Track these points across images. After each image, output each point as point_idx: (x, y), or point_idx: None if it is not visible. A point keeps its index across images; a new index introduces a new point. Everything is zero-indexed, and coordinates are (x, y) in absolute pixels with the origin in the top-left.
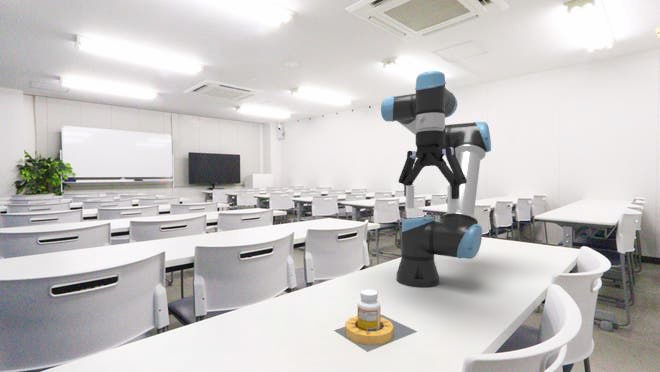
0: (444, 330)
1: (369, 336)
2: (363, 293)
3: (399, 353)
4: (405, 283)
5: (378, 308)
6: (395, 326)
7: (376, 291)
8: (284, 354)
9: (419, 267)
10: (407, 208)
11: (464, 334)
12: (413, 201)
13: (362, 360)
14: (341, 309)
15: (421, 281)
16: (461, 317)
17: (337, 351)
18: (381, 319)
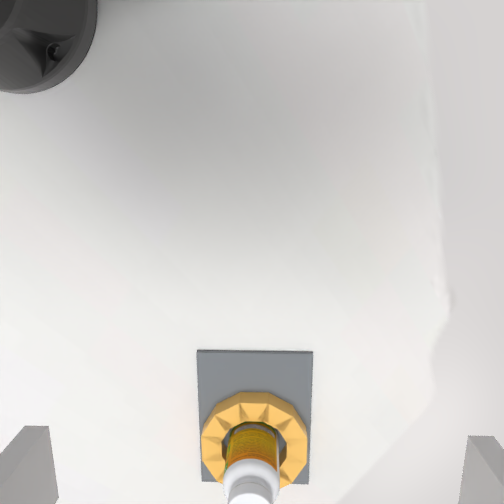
0: (342, 290)
1: (293, 479)
2: None
3: (343, 437)
4: (29, 92)
5: (279, 479)
6: (265, 373)
7: (257, 495)
8: None
9: (23, 33)
10: (54, 497)
11: (385, 270)
12: (12, 480)
13: (317, 498)
14: (107, 397)
15: (72, 57)
16: (326, 185)
17: None
18: (249, 412)
